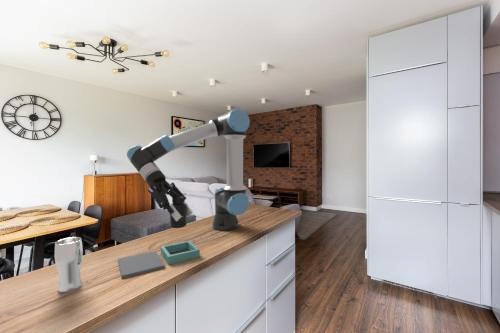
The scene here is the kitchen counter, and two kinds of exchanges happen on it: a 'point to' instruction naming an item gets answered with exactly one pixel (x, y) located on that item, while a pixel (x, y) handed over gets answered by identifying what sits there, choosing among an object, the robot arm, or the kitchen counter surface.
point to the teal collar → (179, 257)
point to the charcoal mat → (139, 264)
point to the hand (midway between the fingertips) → (185, 216)
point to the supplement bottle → (182, 210)
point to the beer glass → (69, 263)
